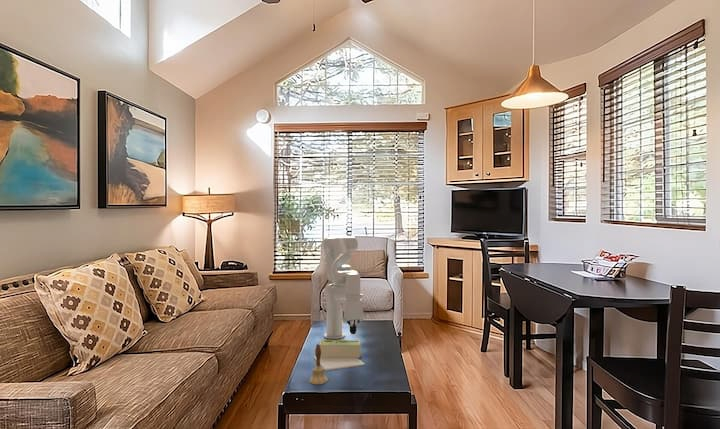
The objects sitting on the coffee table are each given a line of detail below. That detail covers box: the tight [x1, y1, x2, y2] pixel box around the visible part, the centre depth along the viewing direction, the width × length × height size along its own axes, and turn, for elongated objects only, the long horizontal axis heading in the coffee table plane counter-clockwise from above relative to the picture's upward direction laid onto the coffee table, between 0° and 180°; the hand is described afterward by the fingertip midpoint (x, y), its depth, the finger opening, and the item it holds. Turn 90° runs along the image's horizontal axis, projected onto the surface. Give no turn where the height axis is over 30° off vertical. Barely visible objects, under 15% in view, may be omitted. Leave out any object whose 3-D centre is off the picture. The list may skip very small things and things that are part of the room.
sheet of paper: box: [313, 355, 365, 372], centre depth 214 cm, size 20×20×1 cm
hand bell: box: [308, 343, 329, 385], centre depth 189 cm, size 8×8×16 cm
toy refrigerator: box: [319, 339, 362, 359], centre depth 221 cm, size 8×7×21 cm
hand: (353, 333), depth 217 cm, fingers closed
